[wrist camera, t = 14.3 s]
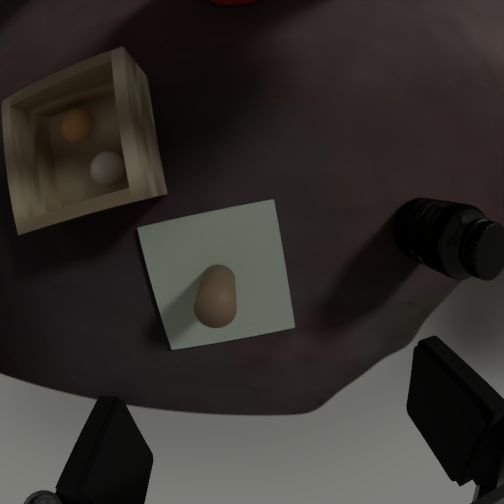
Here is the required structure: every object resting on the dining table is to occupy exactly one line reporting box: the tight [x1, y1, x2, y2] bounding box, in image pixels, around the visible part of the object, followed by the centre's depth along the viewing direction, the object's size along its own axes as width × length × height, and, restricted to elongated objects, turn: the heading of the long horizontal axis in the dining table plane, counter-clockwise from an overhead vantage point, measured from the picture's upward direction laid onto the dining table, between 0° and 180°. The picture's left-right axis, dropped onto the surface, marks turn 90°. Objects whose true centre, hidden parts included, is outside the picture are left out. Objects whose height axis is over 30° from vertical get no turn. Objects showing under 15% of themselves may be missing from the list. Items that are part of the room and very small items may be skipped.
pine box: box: [2, 47, 167, 235], centre depth 23 cm, size 12×12×8 cm
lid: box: [137, 199, 295, 350], centre depth 27 cm, size 13×13×8 cm
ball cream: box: [90, 151, 124, 187], centre depth 25 cm, size 3×3×3 cm
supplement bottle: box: [395, 198, 504, 281], centre depth 25 cm, size 7×7×12 cm
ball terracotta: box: [60, 109, 92, 142], centre depth 24 cm, size 3×3×3 cm
